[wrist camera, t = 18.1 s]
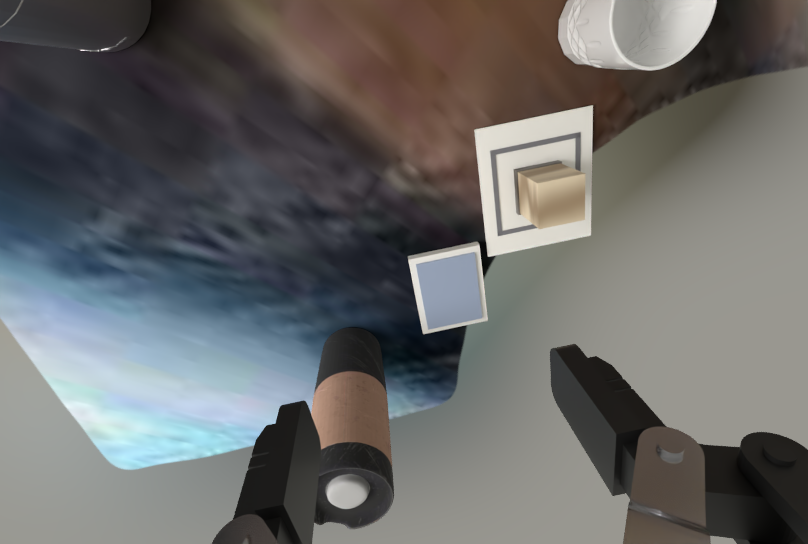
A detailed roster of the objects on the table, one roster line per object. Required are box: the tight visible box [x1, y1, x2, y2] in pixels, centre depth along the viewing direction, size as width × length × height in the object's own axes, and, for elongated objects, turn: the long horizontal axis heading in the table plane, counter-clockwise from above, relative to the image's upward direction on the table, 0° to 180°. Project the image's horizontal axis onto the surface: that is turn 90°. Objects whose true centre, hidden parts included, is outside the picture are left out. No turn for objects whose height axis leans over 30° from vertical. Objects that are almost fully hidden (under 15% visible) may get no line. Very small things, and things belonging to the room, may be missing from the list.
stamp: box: [513, 160, 585, 229], centre depth 41 cm, size 5×5×6 cm
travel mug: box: [311, 328, 394, 529], centre depth 42 cm, size 8×8×20 cm
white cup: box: [558, 0, 717, 70], centre depth 34 cm, size 8×8×10 cm
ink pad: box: [408, 242, 488, 334], centre depth 48 cm, size 10×8×1 cm
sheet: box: [474, 105, 593, 257], centre depth 44 cm, size 14×12×1 cm
